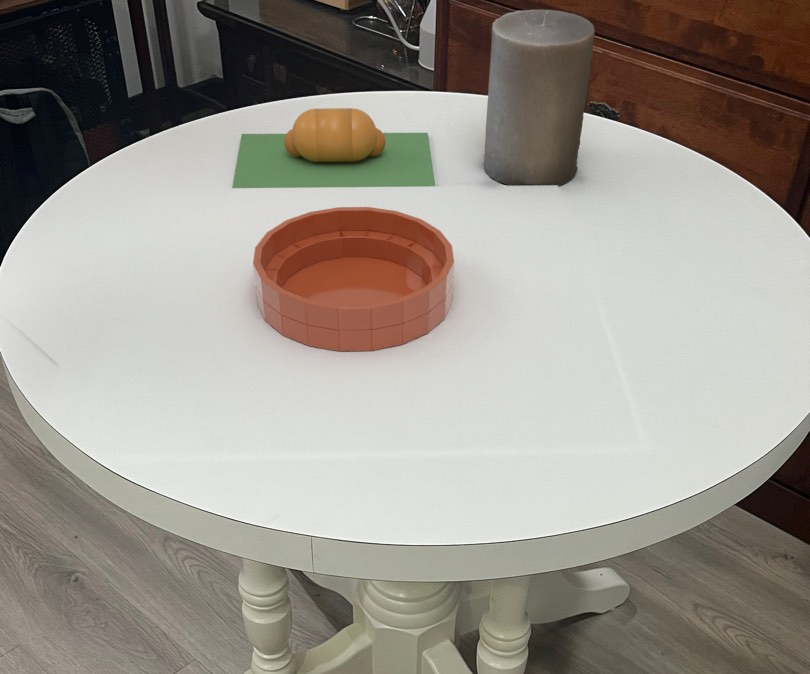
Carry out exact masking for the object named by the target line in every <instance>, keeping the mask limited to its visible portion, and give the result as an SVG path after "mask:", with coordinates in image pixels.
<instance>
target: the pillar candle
mask: <svg viewBox="0 0 810 674" xmlns="http://www.w3.org/2000/svg"><path fill="white" fill-rule="evenodd" d="M595 33H596V32H595V26H594V24H593V23H592V22H591V21H589V19H587V18H585V17H583V16H581V15H578V14H576V13H575V14H574V13H571V12H566V11H561V10H554V9H529V10H528V9H527V10H515V11H513V12H507V13H505V14H503V15H502V16H501V17H498V18H496V19H495V20H494V21H493V22H492V28H491V45H490V46H491V47H490V62H489V75H488V77H489V78H488V89H487V90H488V92H487V105H486V107H487V108H486V119H485V136H484V137H485V138H484V155H483V167H484V170H485V173H486V174H487V175H488V176H489V177H490V178H491V179H493V180H494V181H496V182H499V183H500V184H503V185H508V186H511V187H521V186H522V187H524V186H525V187H526V186H527V187H528V186H529V187H530V186H531V187H533V186H561V185H565V184H566V183H569V182H570V181H571V180H572V179H574V178H575V176H576V174H577V172H578V158H579V149H580V145H581V137H582V130H583V123H584V113H585V106H586V100H587V95H588V87H589V77H590V72H591V64H592V56H593V48H594V39H595Z"/></svg>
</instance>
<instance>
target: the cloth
mask: <svg viewBox="0 0 810 674" xmlns="http://www.w3.org/2000/svg"><path fill="white" fill-rule="evenodd" d="M382 133H383V134H384V136H385V140H386V144H385V148H384V150H383V151H382V152H381V153H380V154H379V155H377V156H373V157H371V156H367V157H366V158H364V159H362V160H359V161H354V162H314V161H310V160H307V159H306V158H304V157H294V156H292V155H291V154H289V153H288V152H287V150H286V148H285V145H284V139H285V136H286V134H287V133H241V136H240V141H239V148H238V153H237V154H238V155H237V158H236V164H235V170H234V176H233V182H232V187H231V189H298V188H299V189H302V188H303V189H304V188H305V189H307V188H308V189H309V188H311V189H312V188H401V187H402V188H409V187H411V188H415V187H416V188H417V187H419V188H421V187H423V188H424V187H425V188H427V187H428V188H429V187H436V184H435V177H434V169H433V162H432V156H431V155H432V154H431V148H430V140H429V139H430V138H429V132H382Z"/></svg>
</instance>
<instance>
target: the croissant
mask: <svg viewBox="0 0 810 674" xmlns="http://www.w3.org/2000/svg"><path fill="white" fill-rule="evenodd" d="M383 133H384V132H383V131H382V130H381V129H380V128H377V127H376V123H375V122H374V120H373V118H371V116H370V115H369V114H367V112H365V111H363V110H362V109H359V108H353V107H351V108H349V107H346V108H345V107H342V108H340V107H339V108H336V107H335V108H334V107H333V108H327V107H326V108H310V109H308V110H307V109H306V110H305V111H303V112H302V113H300V114H299V115H298V116H297V118H296V119H295V120H294V123H293V125H292V128H291V129H289V130H288V131H287V132H286V133H285V134H286V136H285V139H284V145H285V148H286V150H287V152H288V153H289V154H291V155H292V156H294V157H304V158H306V159H307V160H310V161H314V162H354V161H359V160H362V159H364V158H366V157H367V156H371V157H373V156H377V155H379V154H380V153H381V152H382V151H383V150H384V148H385V144H386V140H385V136H384V134H383Z"/></svg>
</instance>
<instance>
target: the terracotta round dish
mask: <svg viewBox="0 0 810 674" xmlns="http://www.w3.org/2000/svg"><path fill="white" fill-rule="evenodd" d="M454 257H455V256H454V250H453V245H452V244H451V242H450V241H449V240H448V239H447V237H446V236H445V235H444V233H442V231H441V230H440V229H438V228H437V227H435V226H434V225H431V224H430V223H429V222H427V221H425V220H424V219H421V218H419V217H417V216H414V215H413V216H412V215H409V214H406V213H404V212H400V211H399V210H393V209H385V208H379V207H372V206H338V207H332V208H325V209H320V210H319V209H318V210H314V211H313V210H312V211H309V212H306V213H303V214H300V215H296V216H294V217H292V218H288V219H286V220H284V221H282V222H281V223H279V224H278V225H276V226H274V227H273V228H272V229H270V230H268V231H266V233H265V234H264V235H263V237H262V238H261V239H260V240H259V242H258V243H257V245H256V246H255V247H254V253H253V261H252V267H253V277H254V284H255V294H256V302H257V307H258V308H259V311H260V313H261V315H262V317H263V319H264V320H265V322H266V323H267V324H268V325H269V326H270V327H272V328H273V329H274V330H276V332H278V333H279V334H280V335H282V336H284V337H286V338H288V339H290V340H293V341H296V342H298V343H301V344H303V345H306V346H308V347H312V348H318V349H323V350H324V349H325V350H329V351H335V352H371V351H372V352H373V351H378V350H382V349H387V348H391V347H396V346H397V347H398V346H402V345H405V344H408V343H409V342H411V341H414V340H416V339H418V338H420V337H423V336H425V335H428V334H429V333H430V332H431V331H432V330H434V328H436V327H437V326H439V324H440V323H442V322H443V321H444V320H445V319H446V317H447V314H448V313H449V311H450V308H451V306H452V304H453V292H454V273H455V272H454V271H455V259H454Z"/></svg>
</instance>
